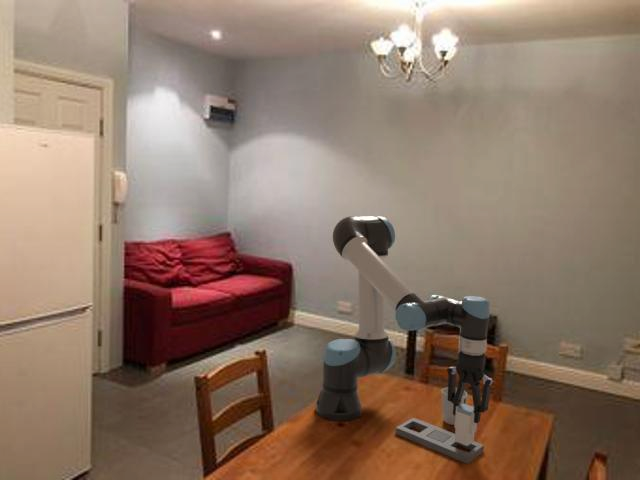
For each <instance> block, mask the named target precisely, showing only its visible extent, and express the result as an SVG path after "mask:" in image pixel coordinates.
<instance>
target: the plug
mask: <svg viewBox="0 0 640 480" xmlns="http://www.w3.org/2000/svg"><path fill="white" fill-rule="evenodd" d="M473 410H474V406H472V405H469V404H467V403H466V404H462V405H461V406H459V407H457V418H456V428H455V430H454V431H455V433H454V434H455V441H456V442H458V443H461V444H463V445H466V446H468V445H470V444H471V443H472V442H474V441H475V433H473V434H470V422H471V412H472V411H473Z"/></svg>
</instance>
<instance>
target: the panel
mask: <svg viewBox="0 0 640 480" xmlns="http://www.w3.org/2000/svg"><path fill="white" fill-rule="evenodd" d="M412 428H414V429H416V430H419V431H420V432H418V431H415V430H413V429H412ZM395 434H396V435H398V436H400V437H402V438H405V439H408V440H410V441H412V442H414V443H417V444H419V445H421V446H424V447H426V448H428V449H431V450H433V451H436V452H437V453H438V452H439V453H440V454H443V455H446V456H447V457H450V458H451V459H454V460H458V461H460V462H462V463H464V464H467V465H468V464H469V463H471V462H472V461H473V460H475V459H476V458H477V457H478V456H479V455H481V454H482V453H484V446H485V445H484V444H483V443H479V442H477V441H475V440H474V442H472V443H471V444H470V445H468V446H466V445H463V444H461V443H458V442H456V441H455V433H453V432H452V431H449V430H446V429H443V428H441V427H439V426H436V425H434V424H431V423H428V422H426V421H423V420H421V419H418V418H415V417H412V418H410V419H408V420H406V421H405V422H403V423H401V424H399V425H398V426H396V427H395ZM457 447H461V448H464V449H466V450H469V451H465V450H461V449H460V448H457Z"/></svg>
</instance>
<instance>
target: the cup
mask: <svg viewBox="0 0 640 480" xmlns="http://www.w3.org/2000/svg"><path fill="white" fill-rule="evenodd" d="M456 391H457V387H456ZM456 391H455V394H456ZM467 399H468V393H467V391H466V390H464V392H463V396H462V399H461V401H462V402H461V403H460V404H467ZM441 411H442V417H443V420H444V422H445V423H446V424H447V425H451V426H455V415H453V403H452V402H451V401H448V386H447V387H444V388H442V389H441Z"/></svg>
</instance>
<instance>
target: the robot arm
mask: <svg viewBox="0 0 640 480" xmlns="http://www.w3.org/2000/svg"><path fill="white" fill-rule="evenodd" d="M395 240H396V232H395V228H394V226H393V223H392V222H390V220H389V219H387V218H386V217H384V216H381V215H380V216H379V215H362V216H360V215H359V216H352V215H351V216H346V217H343V218H342V219H341V220H339V221H338V222H337V224H336V225H335V226H334V228H333V231H332V242H333V245H334V248H335V250H336V252H337V253H338V254H339V256H340V257H341V258H342V259H343V260H344V261H346V262H350V263H352V265H353V266H354V267H355V268H356V269H357V270H358V330H357V331H356V332H355V333H354V339H352V338H338V339H334V340H332V341H329V342H328V343H327V344H326V345H325V347H324V353H323V356H322V360H323V365H322V370H323V371H322V384H321V385H322V387H321V390H320V392H319V395H318V397H317V401H316V403H315V412H316V414H317V413H318V414H317V415H319V417H321V418H324V419H326V420H330V421H335V422H348V421H353V420H356V419H358V418H359V417H360V416H361V415H362V408H363V407H362V403H361V400H360V396H359V392H358V386H359V379H360V378H365V377H367V376H373V375H378V374H381V373H384V372H385V371H388V370H389V369H391V367H392V366H393V365H394V363H395V360H396V356H397V355H396V354H397V353H396V347H395V345H393V344H394V342H393V341H392V339H390V338H389V333H388V332H386V330H385V304H384V303H385V301H386V302H387V303H388V304H389V305H390V307H391V308H392V309H393V310H394V311H395V314H394V315H395V321H396V322H397V323H396V324H397V325H398V327H399V328H400V329H402V330H404V331H407V332H408V331H418V330H421V329H425V328H429V327H435V326H436V327H437V326H440V325H445V324H447V325H450V326H453V327H457V328H459V337H458V338H459V339H458V351H457V359H456V360H457V364H456V365H455V366H450V367H447V369H446V372H447V376H448V380H447V387H448V401H451V402H452V403H453V415H455V425H453V426H454V429H456V418H457V407H459V406H461V405H462V404H460V403H461V402H462V401H461V399H462V396H463V392H464V391H465V388H466V385H467V384H468V385H470V389H471V394H472V395H471V396H472V404H473V407H474V410H473V411H472V412H471V422H470V434H473V433H474V434H475V433H476V432H477V426H478V423H480V422H481V416H482V415H481V414H482V413H486V412H487V411H488V410H489V404H490V396H491V387H492V386H493V383H494V378H493V377H489V376H487V375H486V371H485V365H486V354H485V353H486V352H487V340H488V339H487V338H488V327H489V319H490V315H491V314H490V300H488V299H487V298H485V297H481V296H476V295H467V296H464V297H463V298H462V300H458V299H456V298H452V297H448V296H445V295H438V294H432V295H430V297H428V298H427V299H425V300H422V299H421V298H420V297H419V296H418V295H417V294H416V293H415V292H414V291H413V290H412V289H411V288H410V287H409V286H408V284H406V283H405V282H404V281H403V279H402V278H400V277H399V276H398V275H397V273H395V272H394V270H393V269H392V268H390V266H389V265H388V264H387V263H386V262H385V260H386V259H387V258H388V256H389V250H390V249H391V248H392V246H393V245H394V244H395ZM457 375H458V376H459V378H458V382H457ZM482 380H483V381H482ZM481 381H482V383H483V387H482V392H481V390H480V389H481V388H480V387H481ZM456 383H457V384H458V385H457V384H456ZM456 385H457V387H456ZM456 388H457V391H456ZM455 391H456V394H455ZM481 393H482V394H481Z"/></svg>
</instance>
